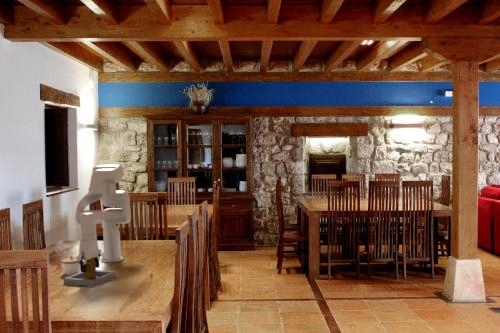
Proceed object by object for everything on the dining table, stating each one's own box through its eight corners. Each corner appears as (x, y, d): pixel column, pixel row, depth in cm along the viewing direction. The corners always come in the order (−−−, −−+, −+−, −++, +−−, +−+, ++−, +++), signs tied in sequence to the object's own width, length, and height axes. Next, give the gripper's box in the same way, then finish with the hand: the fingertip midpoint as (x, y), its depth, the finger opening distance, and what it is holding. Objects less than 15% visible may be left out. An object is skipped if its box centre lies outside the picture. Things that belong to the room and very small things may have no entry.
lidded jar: (86, 271, 262) (86, 254, 262) (73, 276, 252) (72, 259, 252) (70, 270, 266) (70, 253, 265) (57, 275, 256) (56, 258, 255)
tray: (63, 284, 238) (63, 278, 238) (88, 274, 255) (88, 269, 255) (92, 287, 231) (92, 281, 231) (116, 277, 248) (115, 271, 248)
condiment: (80, 279, 243) (79, 256, 243) (95, 276, 250) (94, 253, 249) (88, 282, 239) (87, 258, 238) (102, 278, 245) (102, 255, 245)
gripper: (94, 233, 252) (95, 265, 252) (70, 239, 236) (72, 273, 236) (105, 233, 249) (107, 266, 250) (82, 240, 233) (84, 274, 234)
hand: (90, 269), depth 243 cm, fingers open, 9 cm apart
